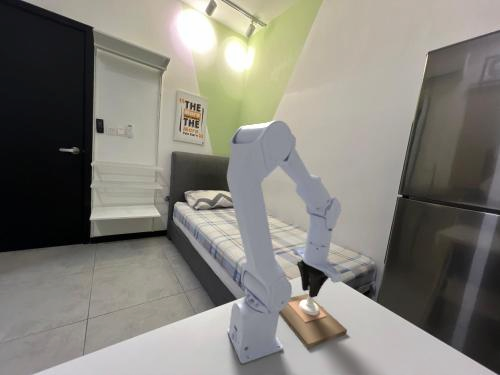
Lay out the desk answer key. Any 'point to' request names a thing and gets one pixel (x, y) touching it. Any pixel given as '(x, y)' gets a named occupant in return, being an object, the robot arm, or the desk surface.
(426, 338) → the desk surface
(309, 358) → the desk surface
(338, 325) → the walnut board
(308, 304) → the chess piece
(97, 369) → the desk surface
